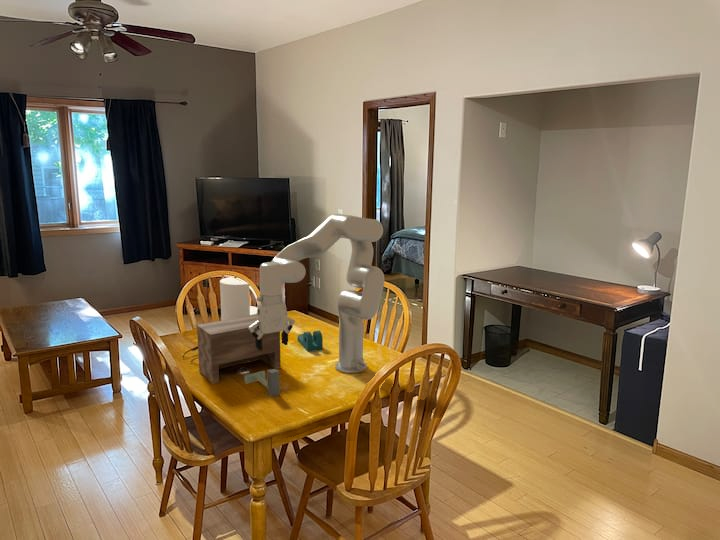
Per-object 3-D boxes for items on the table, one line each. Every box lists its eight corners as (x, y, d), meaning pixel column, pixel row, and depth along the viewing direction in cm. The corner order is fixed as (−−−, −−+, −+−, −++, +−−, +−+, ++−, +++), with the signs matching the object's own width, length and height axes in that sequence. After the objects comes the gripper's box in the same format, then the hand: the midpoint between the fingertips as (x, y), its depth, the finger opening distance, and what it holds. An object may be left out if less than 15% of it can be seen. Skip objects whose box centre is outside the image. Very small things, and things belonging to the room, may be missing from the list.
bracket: (322, 350, 235) (322, 333, 234) (307, 352, 233) (307, 334, 231) (309, 337, 251) (309, 321, 250) (295, 339, 249) (295, 322, 247)
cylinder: (232, 349, 234) (230, 286, 229) (215, 338, 247) (213, 279, 242) (268, 341, 245) (266, 281, 239) (249, 331, 258) (248, 274, 252)
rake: (285, 393, 192) (285, 369, 190) (265, 399, 187) (264, 374, 185) (264, 377, 205) (263, 355, 203) (244, 382, 200) (243, 359, 198)
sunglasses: (219, 357, 226) (217, 346, 224) (194, 368, 217) (192, 357, 216) (205, 350, 233) (203, 340, 231) (180, 361, 224) (178, 350, 223)
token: (252, 373, 210) (252, 370, 209) (240, 376, 207) (240, 373, 206) (246, 369, 214) (246, 366, 213) (235, 372, 211) (234, 369, 210)
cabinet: (280, 367, 215) (279, 321, 211) (213, 383, 199) (210, 334, 195) (264, 356, 226) (263, 313, 222) (199, 371, 210) (196, 324, 206)
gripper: (252, 304, 175) (253, 354, 179) (299, 297, 185) (299, 345, 189) (243, 299, 181) (244, 348, 184) (288, 293, 191) (288, 339, 195)
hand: (272, 346), depth 187 cm, fingers open, 9 cm apart
